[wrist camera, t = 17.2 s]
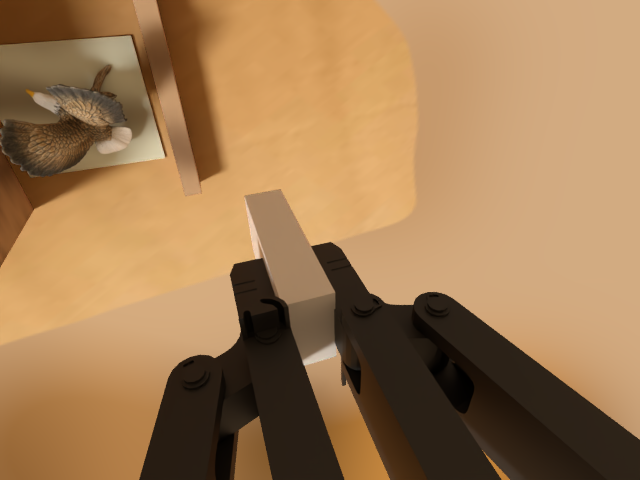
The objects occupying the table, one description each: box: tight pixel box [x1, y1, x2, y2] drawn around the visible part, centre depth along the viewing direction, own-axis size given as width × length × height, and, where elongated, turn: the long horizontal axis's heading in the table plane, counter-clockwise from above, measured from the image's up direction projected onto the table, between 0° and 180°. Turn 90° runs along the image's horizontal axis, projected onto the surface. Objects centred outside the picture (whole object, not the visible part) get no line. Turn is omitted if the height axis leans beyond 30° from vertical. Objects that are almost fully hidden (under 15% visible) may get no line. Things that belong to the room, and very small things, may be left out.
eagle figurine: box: [0, 65, 132, 177], centre depth 28 cm, size 8×7×9 cm
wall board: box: [0, 0, 202, 267], centre depth 25 cm, size 24×16×10 cm, turn 2°
